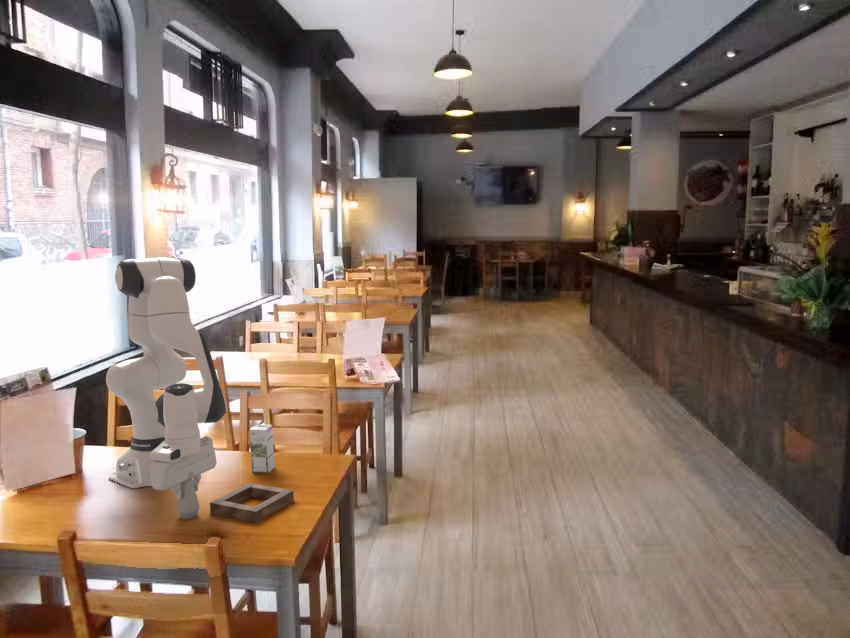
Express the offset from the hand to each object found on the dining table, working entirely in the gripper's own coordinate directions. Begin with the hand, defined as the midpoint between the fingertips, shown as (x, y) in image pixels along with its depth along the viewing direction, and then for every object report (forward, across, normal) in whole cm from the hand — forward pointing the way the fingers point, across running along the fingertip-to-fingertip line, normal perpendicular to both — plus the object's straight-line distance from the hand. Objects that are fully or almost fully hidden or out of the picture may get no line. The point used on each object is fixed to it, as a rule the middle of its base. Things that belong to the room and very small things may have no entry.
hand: (187, 494), depth 185 cm
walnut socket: (+6, -12, +12) cm, 18 cm away
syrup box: (+6, -37, -5) cm, 38 cm away
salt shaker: (+6, 0, 0) cm, 6 cm away
